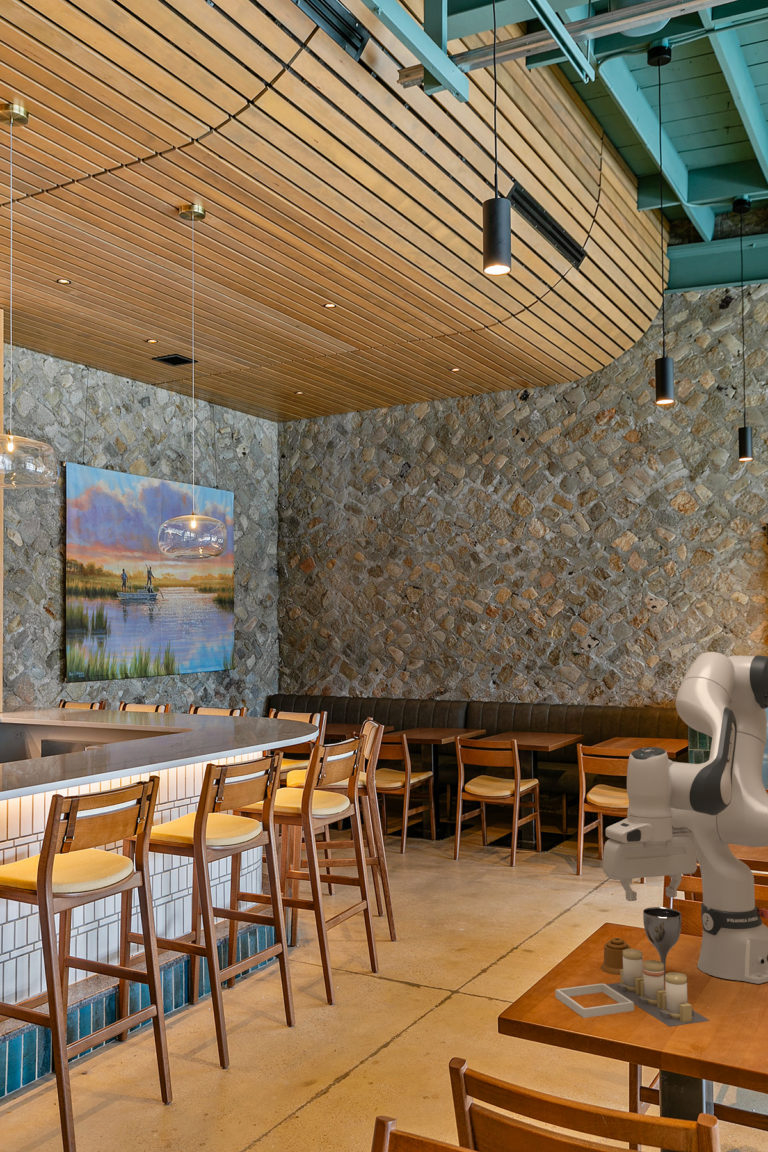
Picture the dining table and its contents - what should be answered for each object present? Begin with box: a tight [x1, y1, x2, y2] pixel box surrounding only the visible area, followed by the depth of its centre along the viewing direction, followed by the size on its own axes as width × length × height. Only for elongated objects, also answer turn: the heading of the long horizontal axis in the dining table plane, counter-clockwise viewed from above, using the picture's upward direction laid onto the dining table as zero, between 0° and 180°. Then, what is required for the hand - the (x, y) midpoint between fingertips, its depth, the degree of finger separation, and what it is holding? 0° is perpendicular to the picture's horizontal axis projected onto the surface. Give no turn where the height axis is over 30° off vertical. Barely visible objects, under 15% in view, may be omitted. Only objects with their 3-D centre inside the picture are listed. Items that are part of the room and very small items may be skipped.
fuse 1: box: [623, 948, 644, 992], centre depth 195 cm, size 4×4×8 cm
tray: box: [554, 982, 635, 1019], centre depth 187 cm, size 11×11×3 cm
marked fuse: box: [643, 959, 665, 1005], centre depth 188 cm, size 4×4×8 cm
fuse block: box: [605, 969, 711, 1028], centre depth 188 cm, size 9×23×4 cm, turn 18°
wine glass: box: [642, 906, 682, 978], centre depth 203 cm, size 8×8×15 cm
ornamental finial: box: [600, 937, 632, 976], centre depth 207 cm, size 8×8×8 cm
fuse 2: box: [664, 971, 688, 1020], centre depth 181 cm, size 4×4×8 cm
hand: (651, 898), depth 189 cm, fingers open, 8 cm apart
